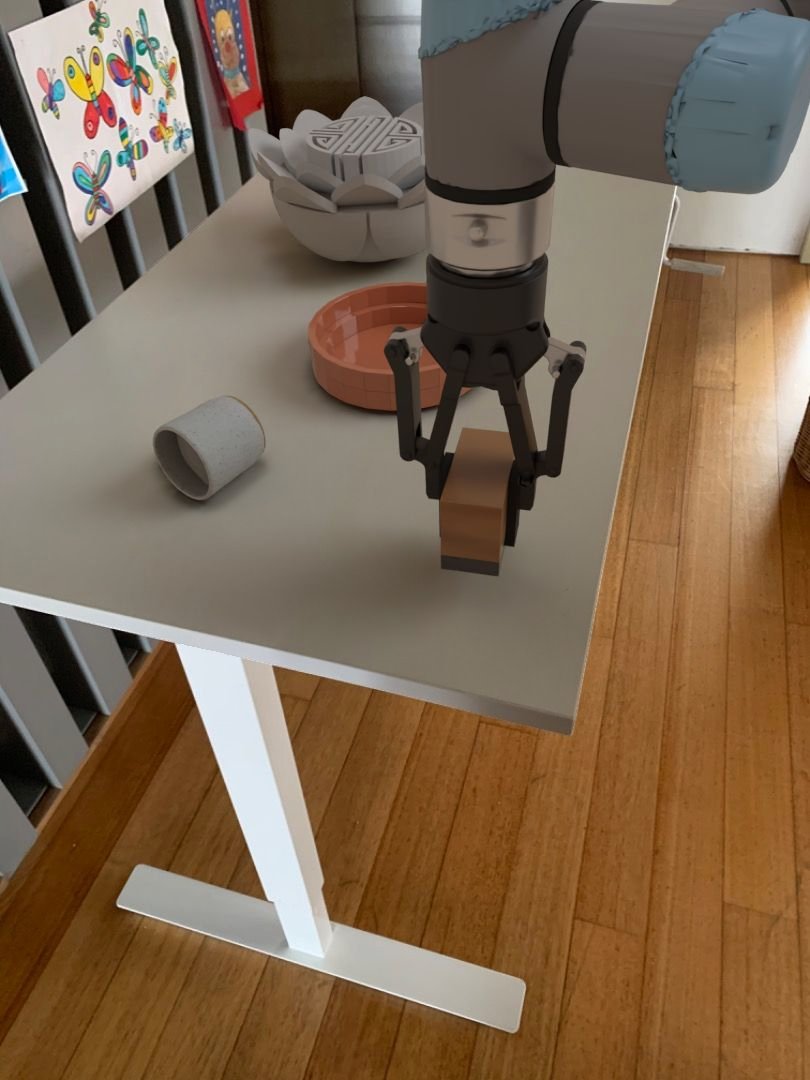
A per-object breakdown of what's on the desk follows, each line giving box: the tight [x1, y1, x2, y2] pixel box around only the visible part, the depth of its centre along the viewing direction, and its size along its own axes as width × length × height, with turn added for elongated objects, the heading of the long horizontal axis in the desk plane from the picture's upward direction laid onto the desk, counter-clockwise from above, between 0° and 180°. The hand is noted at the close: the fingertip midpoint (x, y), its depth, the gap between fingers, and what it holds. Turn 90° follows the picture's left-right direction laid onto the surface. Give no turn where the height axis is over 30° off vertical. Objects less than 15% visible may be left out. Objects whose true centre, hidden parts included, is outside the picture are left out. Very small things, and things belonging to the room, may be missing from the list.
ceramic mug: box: [152, 395, 267, 501], centre depth 79 cm, size 11×8×8 cm
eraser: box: [439, 426, 515, 578], centre depth 65 cm, size 9×4×7 cm, turn 167°
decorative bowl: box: [248, 95, 427, 263], centre depth 112 cm, size 30×30×15 cm
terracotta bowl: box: [307, 281, 473, 412], centre depth 92 cm, size 20×20×5 cm
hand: (479, 530), depth 67 cm, fingers closed on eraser, 4 cm apart
